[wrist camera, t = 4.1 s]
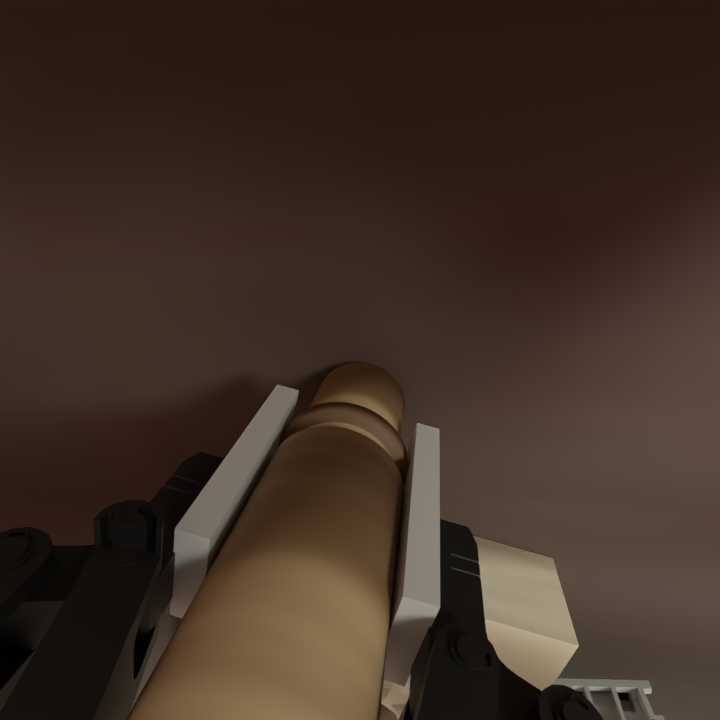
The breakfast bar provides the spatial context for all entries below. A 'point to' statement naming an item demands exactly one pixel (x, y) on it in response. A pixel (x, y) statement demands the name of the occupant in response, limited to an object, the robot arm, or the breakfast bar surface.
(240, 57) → the breakfast bar surface
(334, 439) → the peg
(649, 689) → the circuit breaker
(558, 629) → the board
